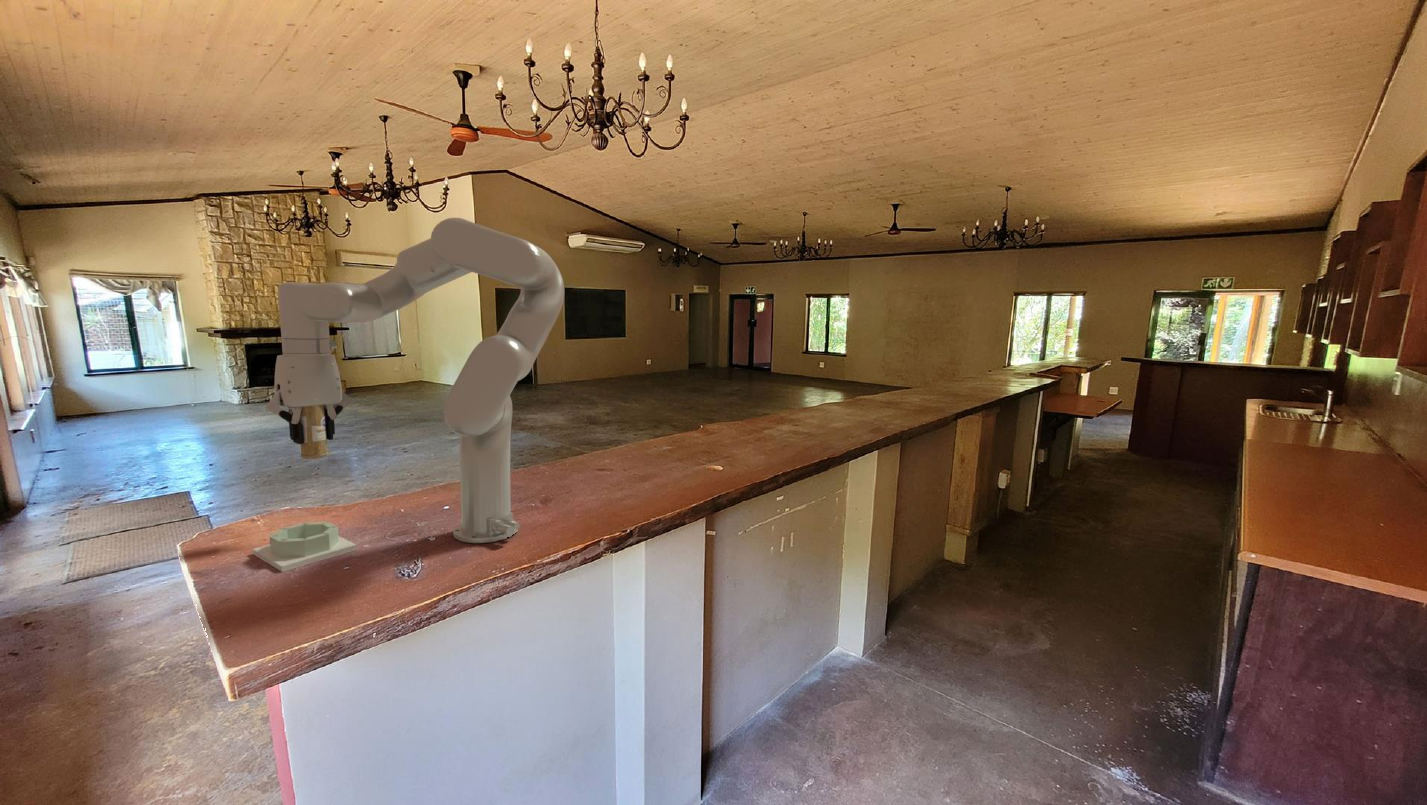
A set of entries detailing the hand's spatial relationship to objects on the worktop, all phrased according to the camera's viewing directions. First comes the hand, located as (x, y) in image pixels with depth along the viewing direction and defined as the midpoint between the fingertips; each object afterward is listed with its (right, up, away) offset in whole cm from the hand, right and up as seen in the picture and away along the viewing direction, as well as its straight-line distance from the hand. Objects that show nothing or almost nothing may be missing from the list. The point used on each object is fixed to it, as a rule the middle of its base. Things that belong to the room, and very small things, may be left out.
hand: (313, 439), depth 111 cm
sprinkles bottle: (0, -4, +1) cm, 4 cm away
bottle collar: (+3, -20, -7) cm, 22 cm away
